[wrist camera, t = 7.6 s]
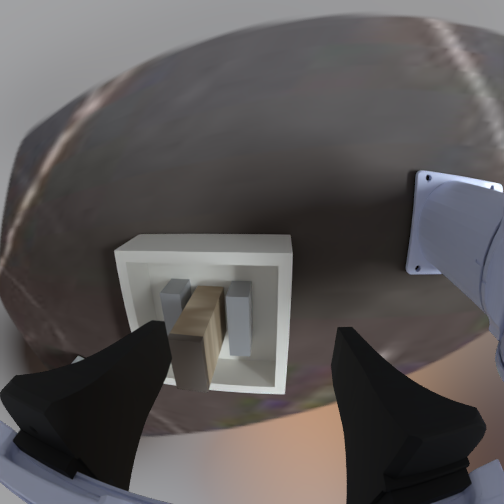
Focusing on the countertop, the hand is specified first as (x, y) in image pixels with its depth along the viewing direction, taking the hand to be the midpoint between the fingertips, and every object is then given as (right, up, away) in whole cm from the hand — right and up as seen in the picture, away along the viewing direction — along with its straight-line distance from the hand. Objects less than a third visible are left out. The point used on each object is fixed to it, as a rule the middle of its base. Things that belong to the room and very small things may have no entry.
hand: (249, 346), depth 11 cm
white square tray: (-3, 0, +11) cm, 12 cm away
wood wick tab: (-3, -1, +11) cm, 11 cm away
